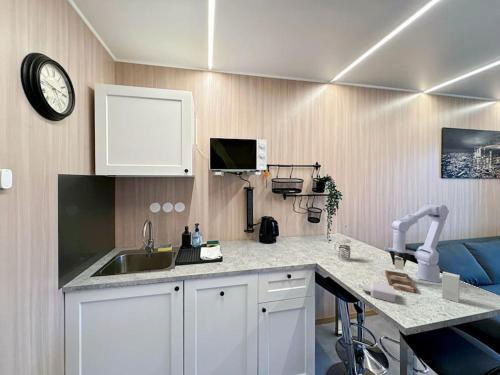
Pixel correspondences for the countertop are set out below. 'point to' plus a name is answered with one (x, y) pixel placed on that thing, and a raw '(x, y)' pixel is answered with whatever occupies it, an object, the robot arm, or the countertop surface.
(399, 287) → the socket holder
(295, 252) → the countertop surface
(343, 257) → the french press
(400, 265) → the plug
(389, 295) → the charger
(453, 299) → the skincare box
